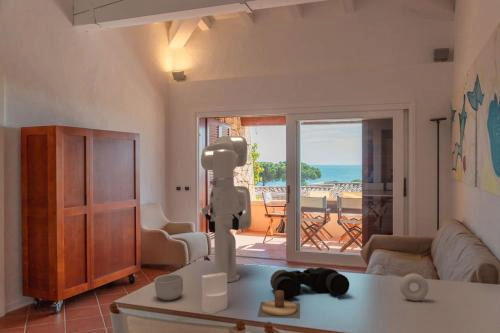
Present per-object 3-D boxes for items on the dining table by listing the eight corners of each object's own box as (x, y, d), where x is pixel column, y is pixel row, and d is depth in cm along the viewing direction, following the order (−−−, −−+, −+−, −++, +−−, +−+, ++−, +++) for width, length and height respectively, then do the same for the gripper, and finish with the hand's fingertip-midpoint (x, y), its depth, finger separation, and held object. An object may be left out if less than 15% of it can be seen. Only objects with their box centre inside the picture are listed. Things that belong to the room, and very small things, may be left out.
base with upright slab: (207, 315, 133) (207, 280, 133) (198, 306, 141) (198, 273, 141) (231, 310, 137) (231, 276, 137) (221, 302, 145) (221, 270, 145)
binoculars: (277, 304, 142) (276, 276, 142) (263, 291, 162) (262, 266, 162) (350, 298, 148) (349, 271, 148) (328, 285, 168) (327, 262, 168)
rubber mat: (261, 304, 143) (261, 301, 143) (299, 305, 141) (299, 303, 141) (257, 319, 129) (257, 316, 129) (299, 320, 127) (299, 318, 127)
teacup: (176, 303, 144) (176, 282, 144) (149, 301, 147) (149, 280, 147) (190, 291, 158) (189, 271, 158) (164, 290, 160) (164, 270, 160)
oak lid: (263, 302, 142) (263, 285, 142) (297, 304, 140) (296, 286, 140) (260, 315, 130) (260, 297, 130) (296, 317, 128) (296, 298, 128)
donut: (427, 299, 145) (427, 272, 145) (429, 303, 142) (429, 275, 142) (399, 298, 148) (398, 271, 147) (400, 301, 144) (400, 274, 144)
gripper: (207, 184, 134) (207, 234, 133) (249, 183, 143) (249, 230, 143) (197, 184, 140) (197, 232, 139) (238, 183, 150) (238, 227, 149)
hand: (224, 231), depth 141 cm, fingers open, 9 cm apart
